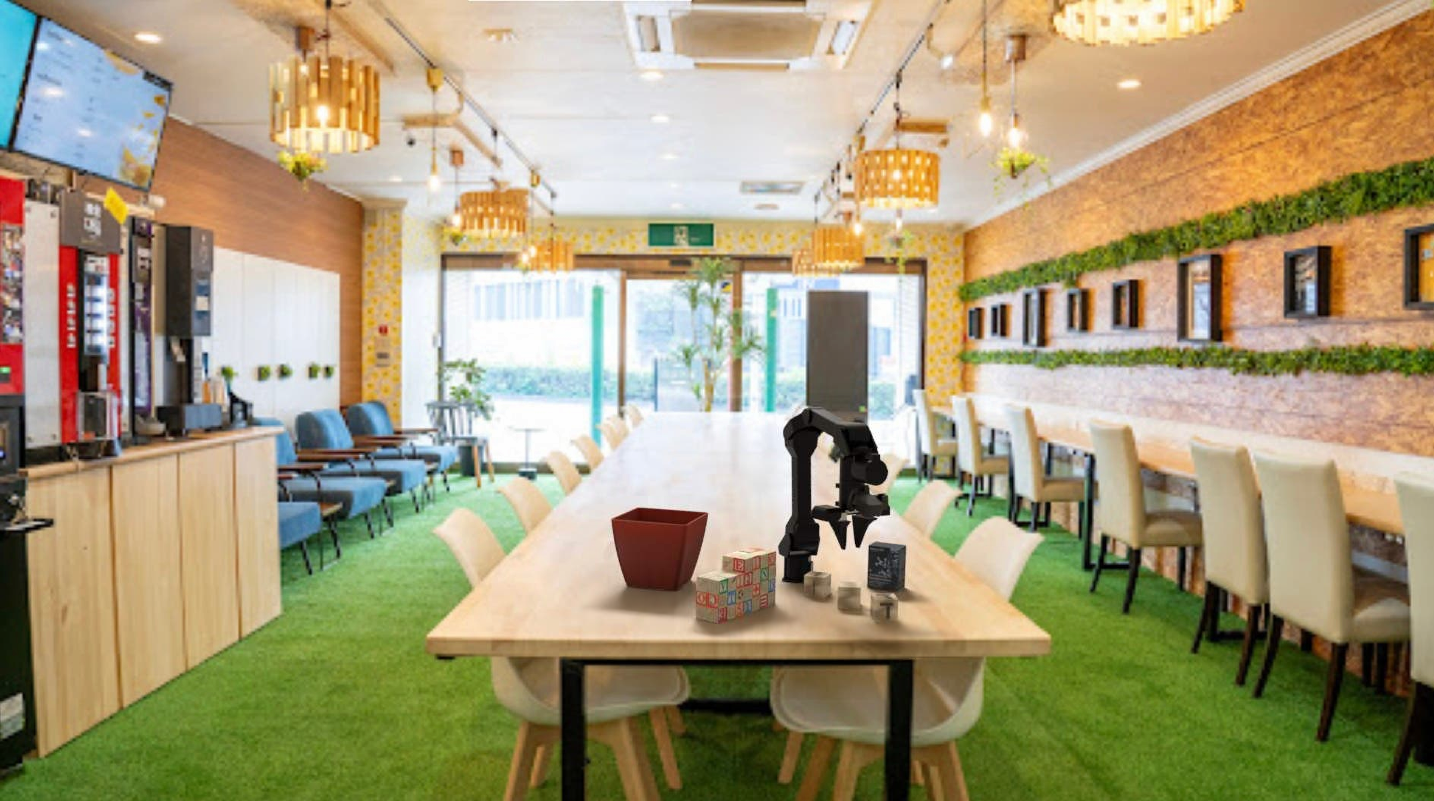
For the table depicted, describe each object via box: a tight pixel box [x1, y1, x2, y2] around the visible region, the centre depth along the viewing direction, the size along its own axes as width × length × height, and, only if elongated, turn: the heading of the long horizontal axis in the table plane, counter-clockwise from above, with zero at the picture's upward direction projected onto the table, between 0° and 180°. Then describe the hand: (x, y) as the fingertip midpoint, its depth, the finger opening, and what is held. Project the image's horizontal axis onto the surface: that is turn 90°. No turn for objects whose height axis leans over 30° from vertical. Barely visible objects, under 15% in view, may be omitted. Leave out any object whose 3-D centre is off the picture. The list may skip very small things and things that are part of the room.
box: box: [866, 540, 907, 593], centre depth 232 cm, size 8×6×11 cm
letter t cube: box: [869, 592, 899, 623], centre depth 205 cm, size 5×5×5 cm
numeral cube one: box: [803, 570, 832, 599], centre depth 224 cm, size 5×5×5 cm
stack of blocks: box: [695, 547, 777, 624], centre depth 209 cm, size 21×6×12 cm, turn 142°
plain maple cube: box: [836, 580, 862, 611], centre depth 215 cm, size 5×5×5 cm
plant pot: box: [610, 506, 709, 592], centre depth 232 cm, size 19×19×17 cm
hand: (850, 548), depth 214 cm, fingers open, 4 cm apart
